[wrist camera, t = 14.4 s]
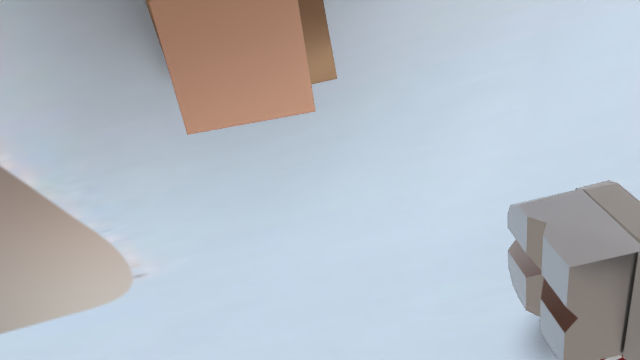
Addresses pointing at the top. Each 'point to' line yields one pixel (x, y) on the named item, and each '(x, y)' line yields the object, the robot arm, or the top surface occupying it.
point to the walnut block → (310, 40)
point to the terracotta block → (234, 60)
